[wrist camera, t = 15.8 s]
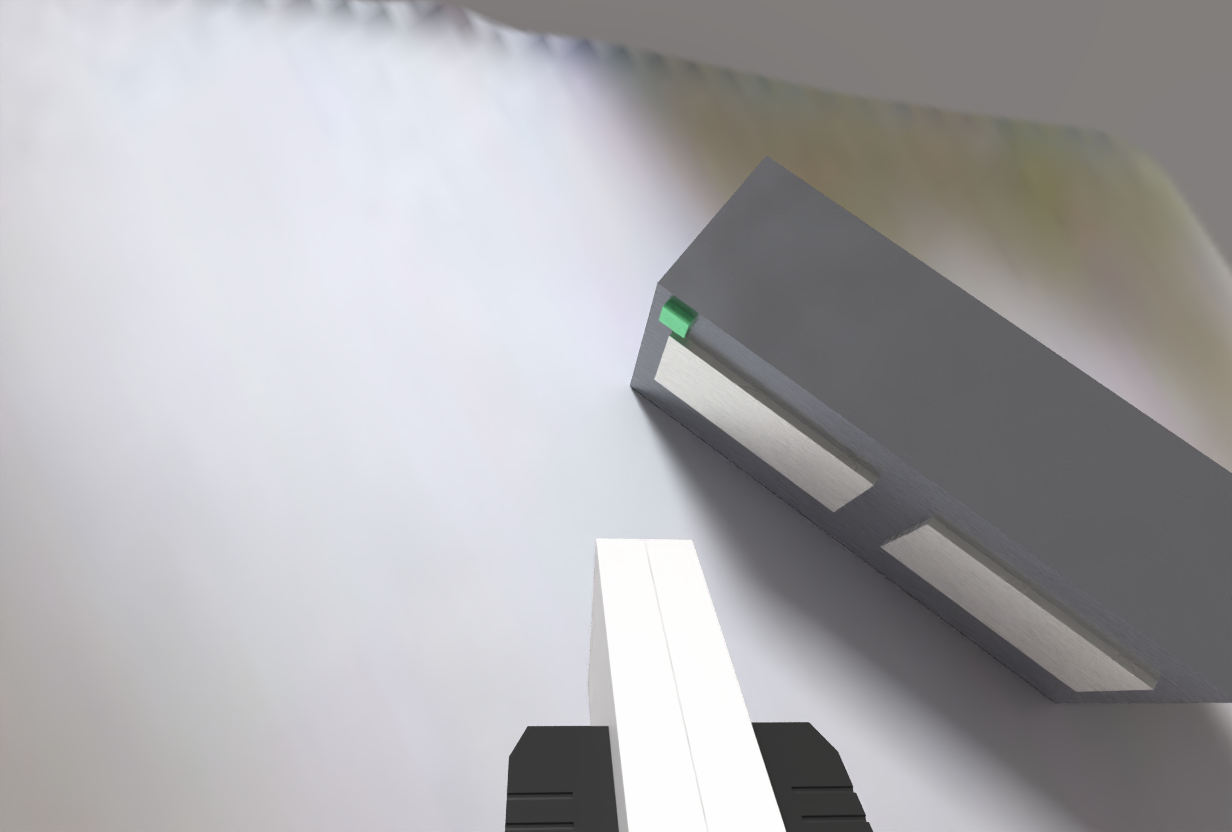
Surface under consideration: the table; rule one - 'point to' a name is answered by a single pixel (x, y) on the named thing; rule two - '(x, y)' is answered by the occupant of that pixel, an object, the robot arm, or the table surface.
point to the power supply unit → (948, 449)
